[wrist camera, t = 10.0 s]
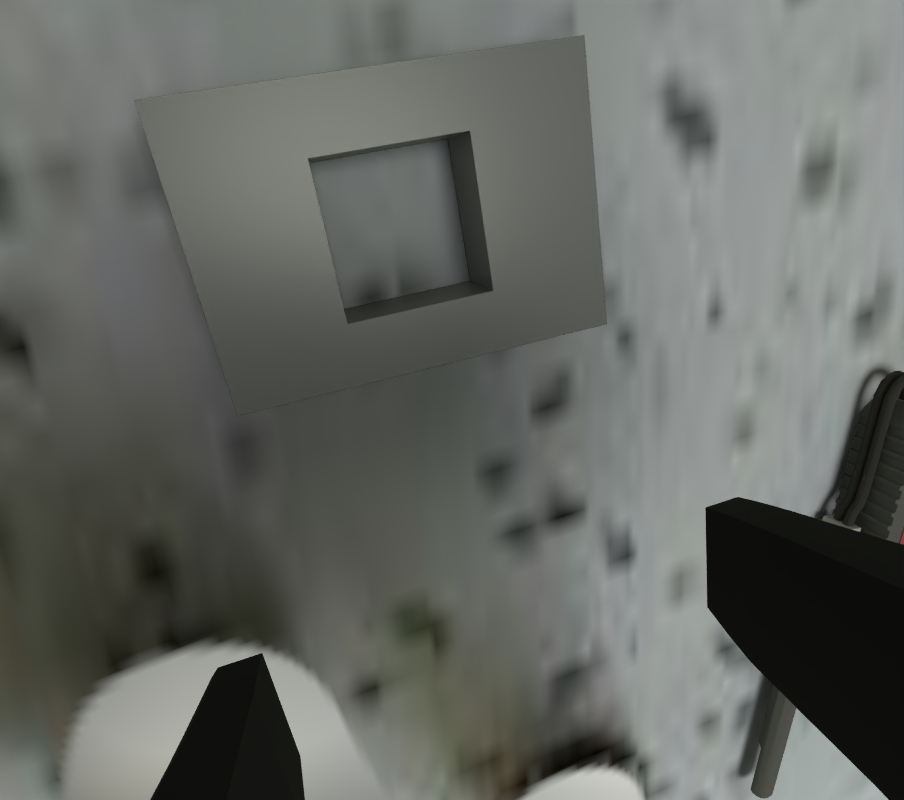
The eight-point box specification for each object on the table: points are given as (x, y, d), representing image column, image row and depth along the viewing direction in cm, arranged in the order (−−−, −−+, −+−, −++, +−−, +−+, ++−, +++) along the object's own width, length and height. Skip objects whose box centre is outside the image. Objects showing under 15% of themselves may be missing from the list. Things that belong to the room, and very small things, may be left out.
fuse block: (242, 391, 16) (237, 416, 14) (153, 112, 14) (134, 99, 12) (573, 311, 18) (606, 323, 16) (548, 54, 16) (584, 35, 14)
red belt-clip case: (816, 364, 22) (718, 772, 28) (937, 401, 18) (792, 868, 24) (986, 358, 24) (862, 736, 31) (1126, 390, 20) (951, 817, 27)
